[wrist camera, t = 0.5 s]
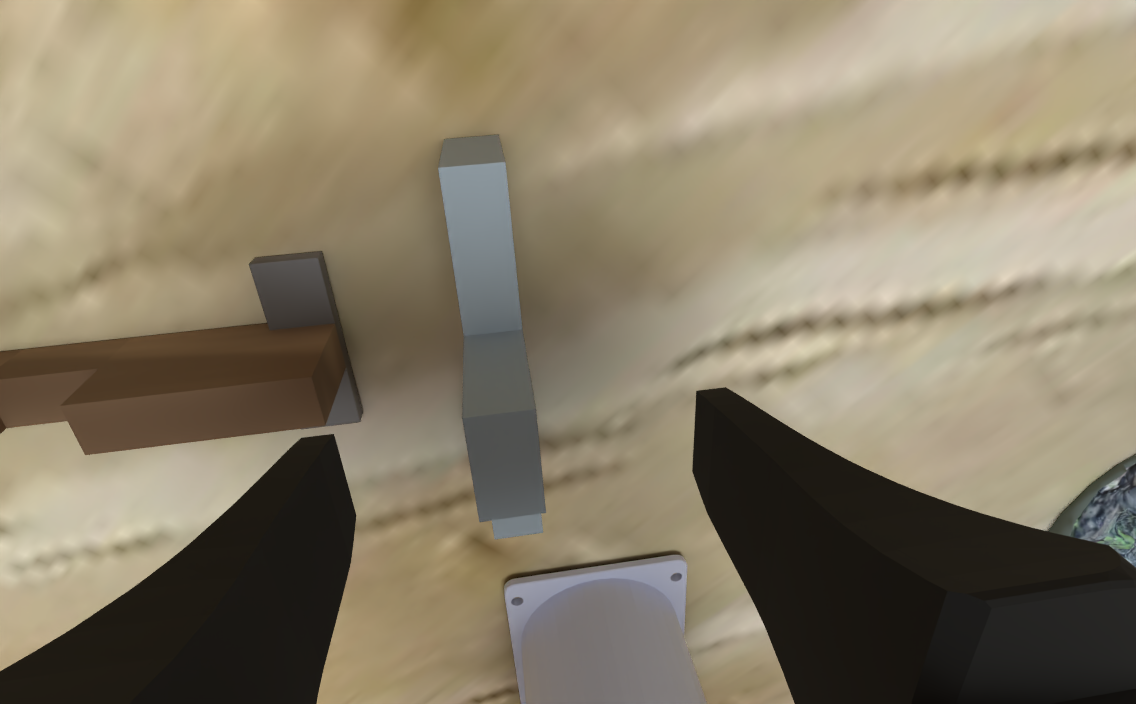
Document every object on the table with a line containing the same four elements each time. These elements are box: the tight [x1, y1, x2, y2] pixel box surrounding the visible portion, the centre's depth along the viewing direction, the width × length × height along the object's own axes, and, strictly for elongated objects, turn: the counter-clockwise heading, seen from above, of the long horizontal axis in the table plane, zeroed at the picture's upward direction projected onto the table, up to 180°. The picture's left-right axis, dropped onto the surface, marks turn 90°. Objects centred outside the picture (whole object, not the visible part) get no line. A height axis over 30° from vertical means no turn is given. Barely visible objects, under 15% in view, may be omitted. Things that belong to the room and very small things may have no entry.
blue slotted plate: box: [438, 135, 546, 539], centre depth 18 cm, size 12×2×8 cm, turn 4°
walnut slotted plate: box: [0, 251, 363, 455], centre depth 18 cm, size 6×16×4 cm, turn 94°
